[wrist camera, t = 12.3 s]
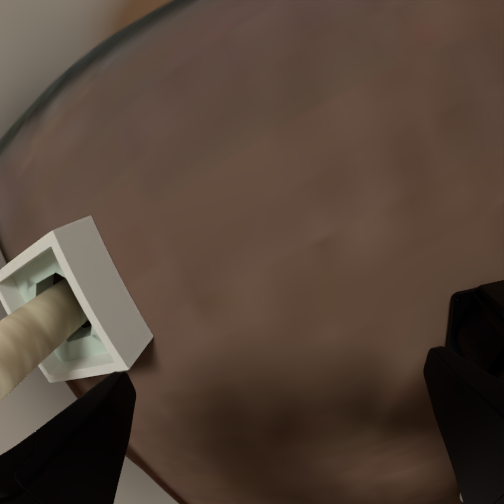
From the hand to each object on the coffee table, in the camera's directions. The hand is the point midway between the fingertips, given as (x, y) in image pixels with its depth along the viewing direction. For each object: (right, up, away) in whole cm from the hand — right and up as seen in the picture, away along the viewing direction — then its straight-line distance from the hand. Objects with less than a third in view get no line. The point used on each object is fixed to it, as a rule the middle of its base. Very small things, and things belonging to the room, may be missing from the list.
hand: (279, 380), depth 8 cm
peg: (-15, 0, +16) cm, 22 cm away
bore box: (-15, 0, +16) cm, 22 cm away
